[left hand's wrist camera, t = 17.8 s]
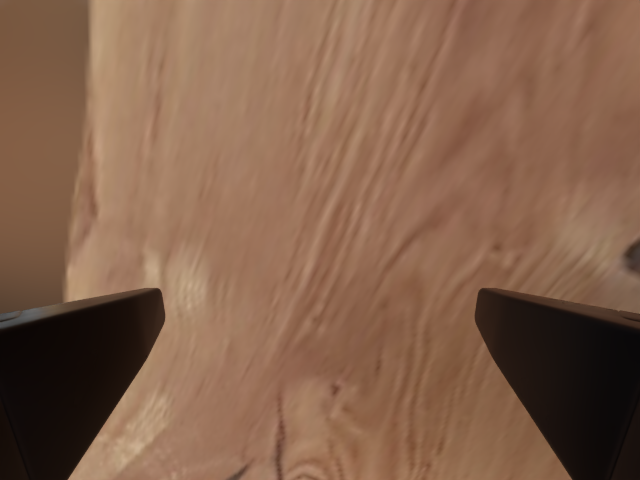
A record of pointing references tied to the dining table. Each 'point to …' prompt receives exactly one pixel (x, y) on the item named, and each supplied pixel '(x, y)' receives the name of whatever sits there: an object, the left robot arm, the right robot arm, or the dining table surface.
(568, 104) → the dining table surface
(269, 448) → the dining table surface
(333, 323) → the dining table surface
